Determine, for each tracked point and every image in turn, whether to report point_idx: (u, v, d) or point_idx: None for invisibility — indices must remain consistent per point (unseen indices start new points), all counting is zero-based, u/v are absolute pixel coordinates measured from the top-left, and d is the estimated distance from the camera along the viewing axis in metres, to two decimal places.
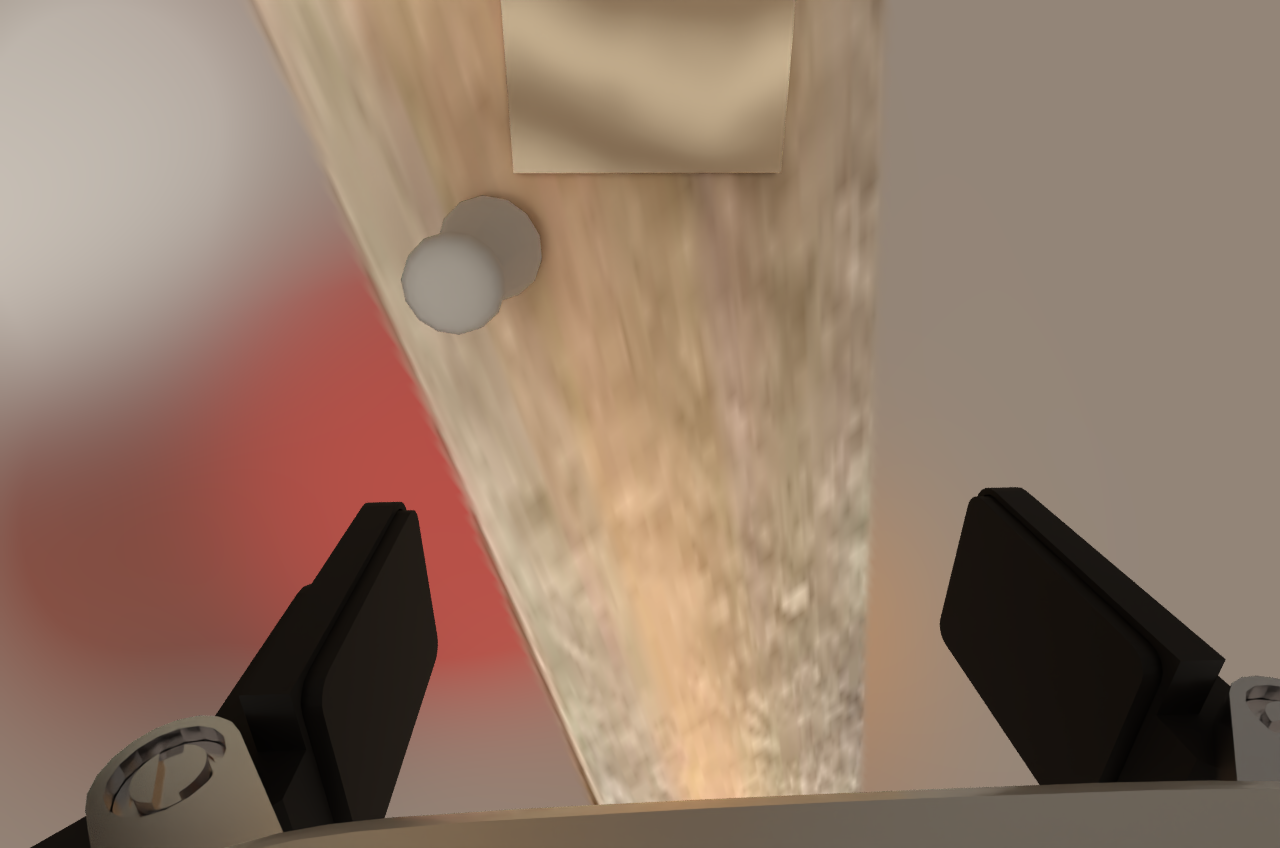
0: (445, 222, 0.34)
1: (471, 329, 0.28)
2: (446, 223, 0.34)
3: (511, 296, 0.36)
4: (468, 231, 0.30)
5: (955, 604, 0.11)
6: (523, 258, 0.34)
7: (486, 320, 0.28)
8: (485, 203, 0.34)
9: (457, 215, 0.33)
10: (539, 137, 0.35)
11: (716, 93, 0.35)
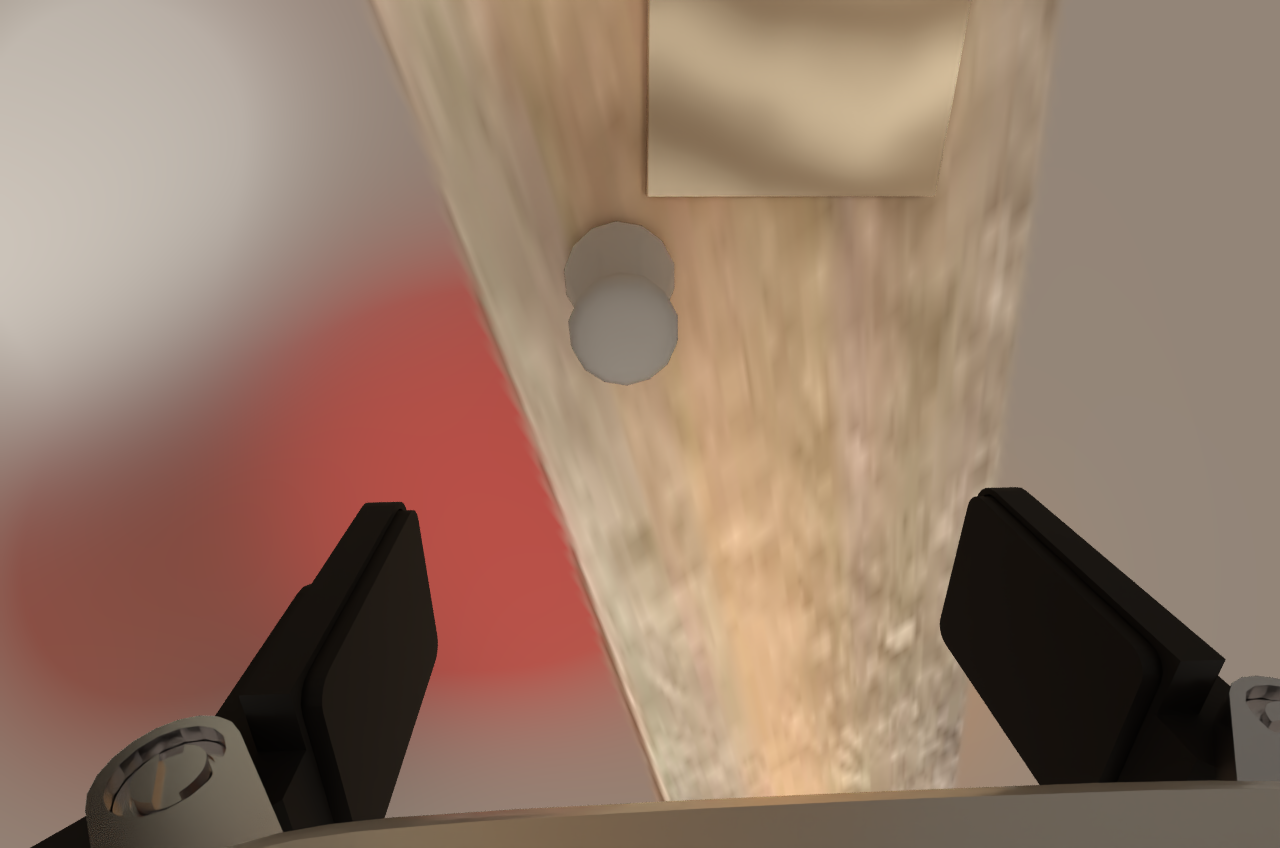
0: (581, 252, 0.31)
1: (641, 380, 0.25)
2: (584, 253, 0.31)
3: None
4: (624, 267, 0.28)
5: (955, 604, 0.11)
6: (667, 292, 0.31)
7: (658, 370, 0.25)
8: (624, 231, 0.31)
9: (599, 245, 0.30)
10: (679, 158, 0.32)
11: (873, 111, 0.32)
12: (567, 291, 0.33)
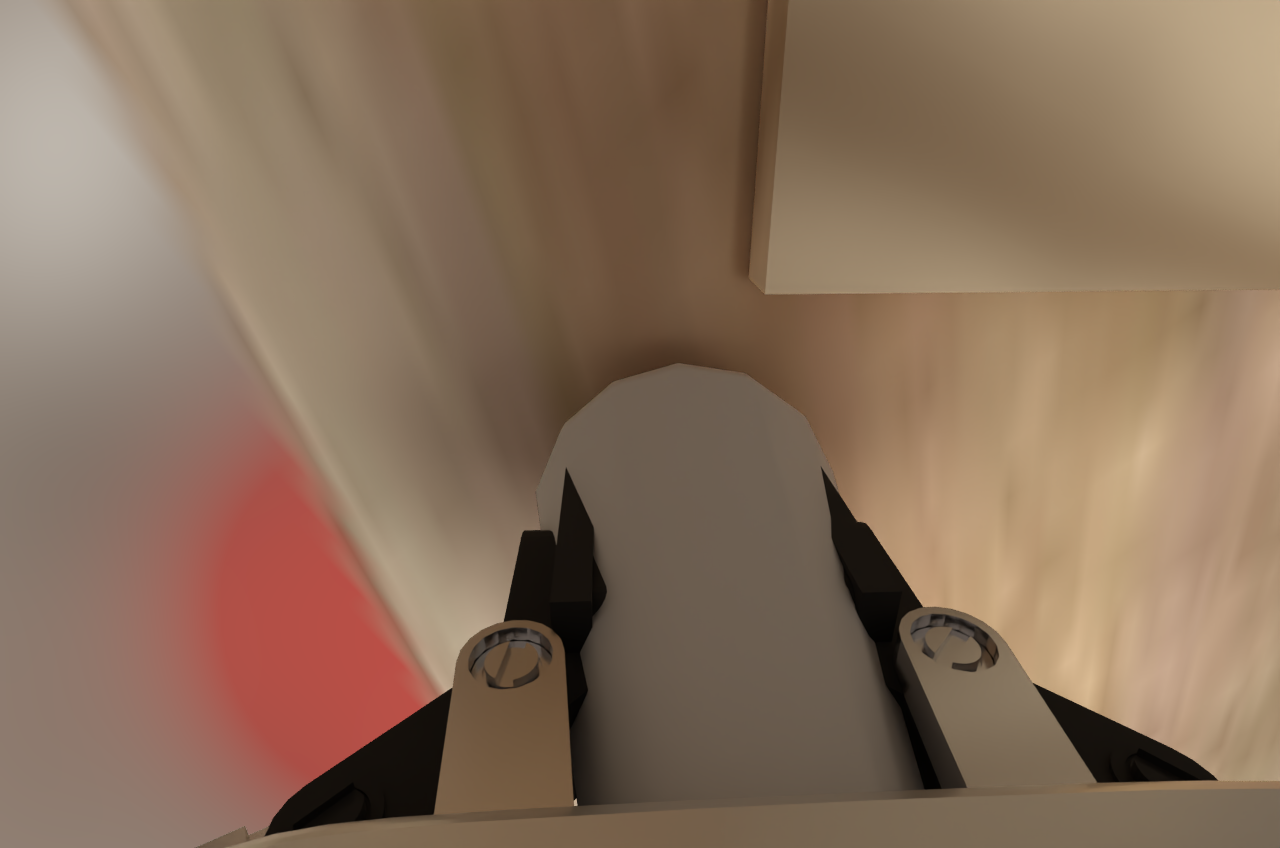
0: (582, 479, 0.10)
1: None
2: (593, 496, 0.10)
3: None
4: (766, 662, 0.07)
5: None
6: None
7: None
8: (712, 414, 0.10)
9: (641, 484, 0.09)
10: (861, 190, 0.11)
11: None
12: None
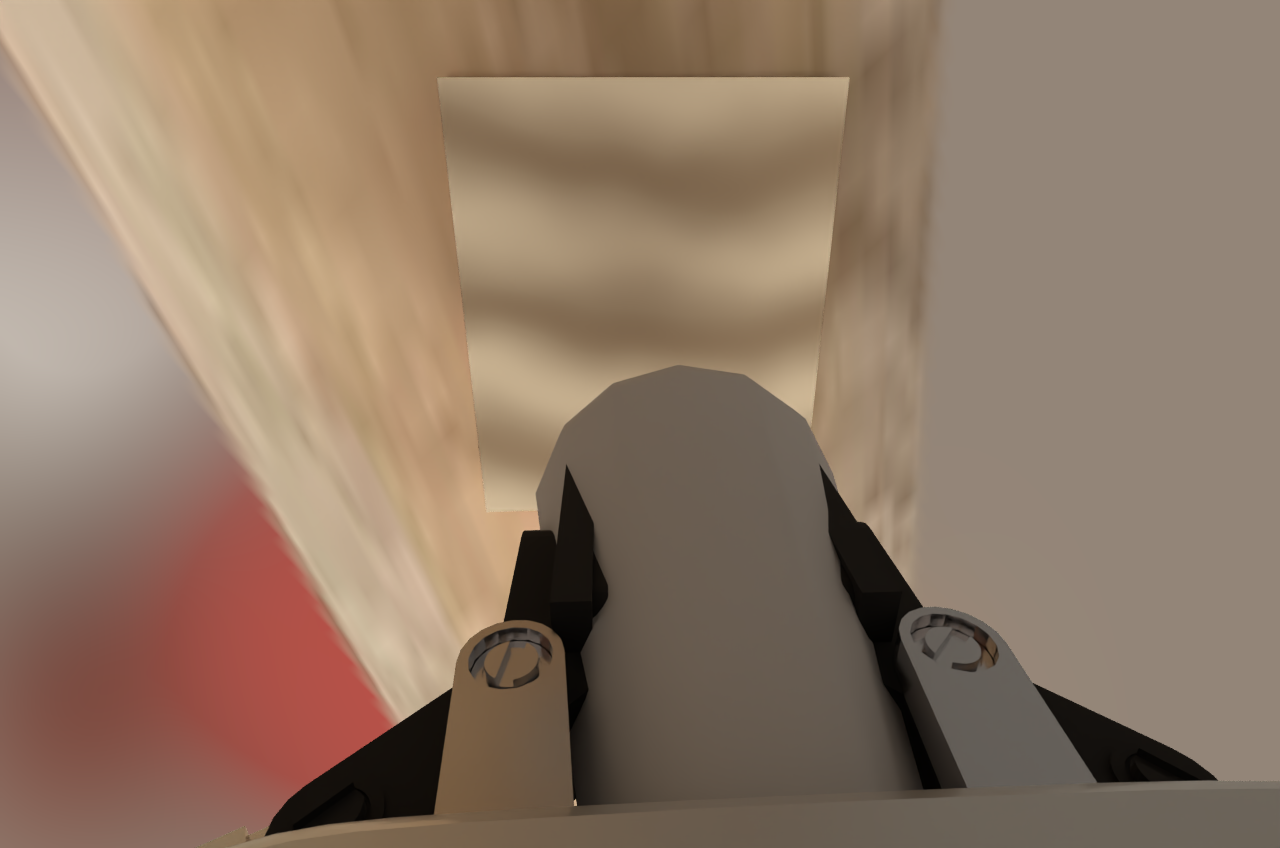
0: (582, 482, 0.10)
1: None
2: (593, 498, 0.10)
3: None
4: (765, 666, 0.07)
5: None
6: None
7: None
8: (712, 416, 0.10)
9: (641, 486, 0.09)
10: (516, 477, 0.30)
11: None
12: None
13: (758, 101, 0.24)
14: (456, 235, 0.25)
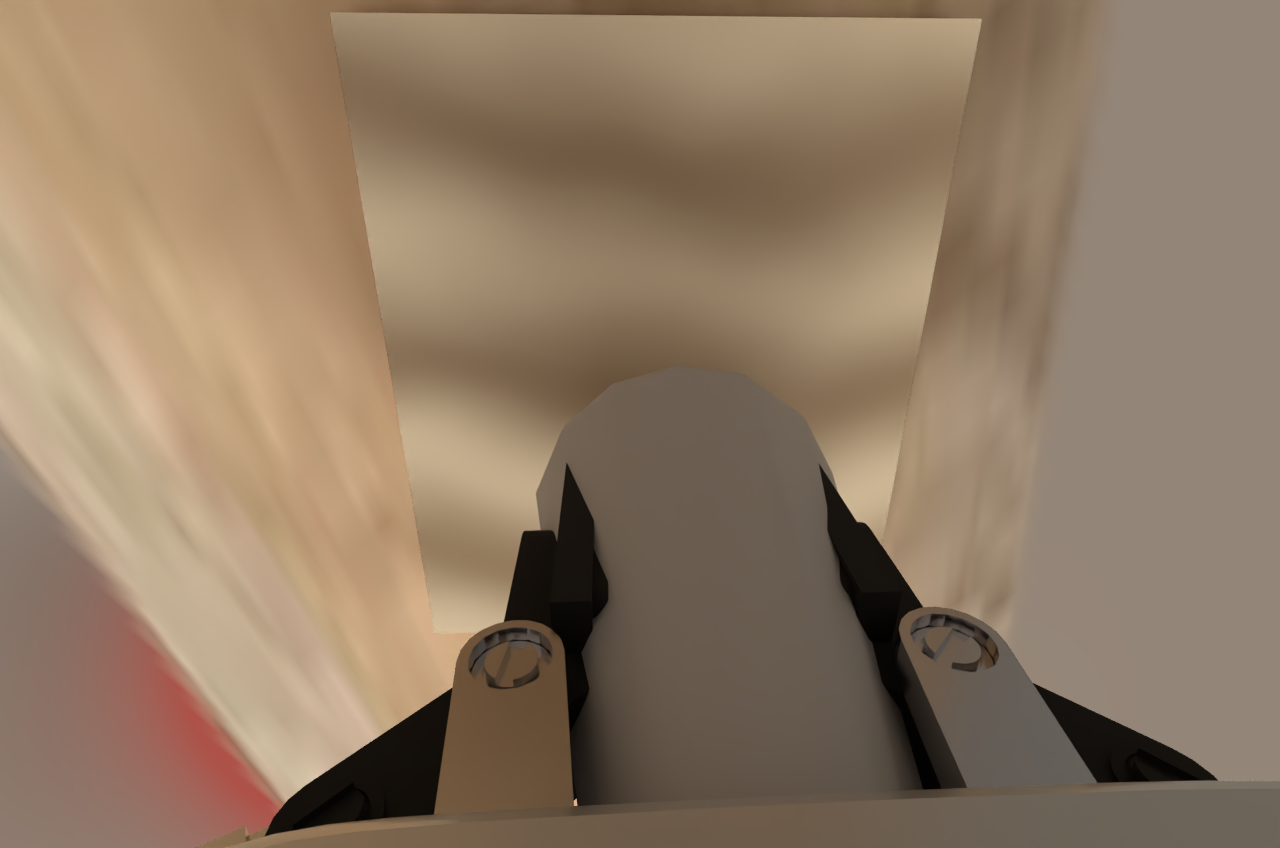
0: (582, 482, 0.10)
1: None
2: (593, 498, 0.10)
3: None
4: (766, 665, 0.07)
5: None
6: None
7: None
8: (712, 417, 0.10)
9: (641, 486, 0.09)
10: (475, 589, 0.21)
11: None
12: None
13: (837, 56, 0.15)
14: (373, 260, 0.17)
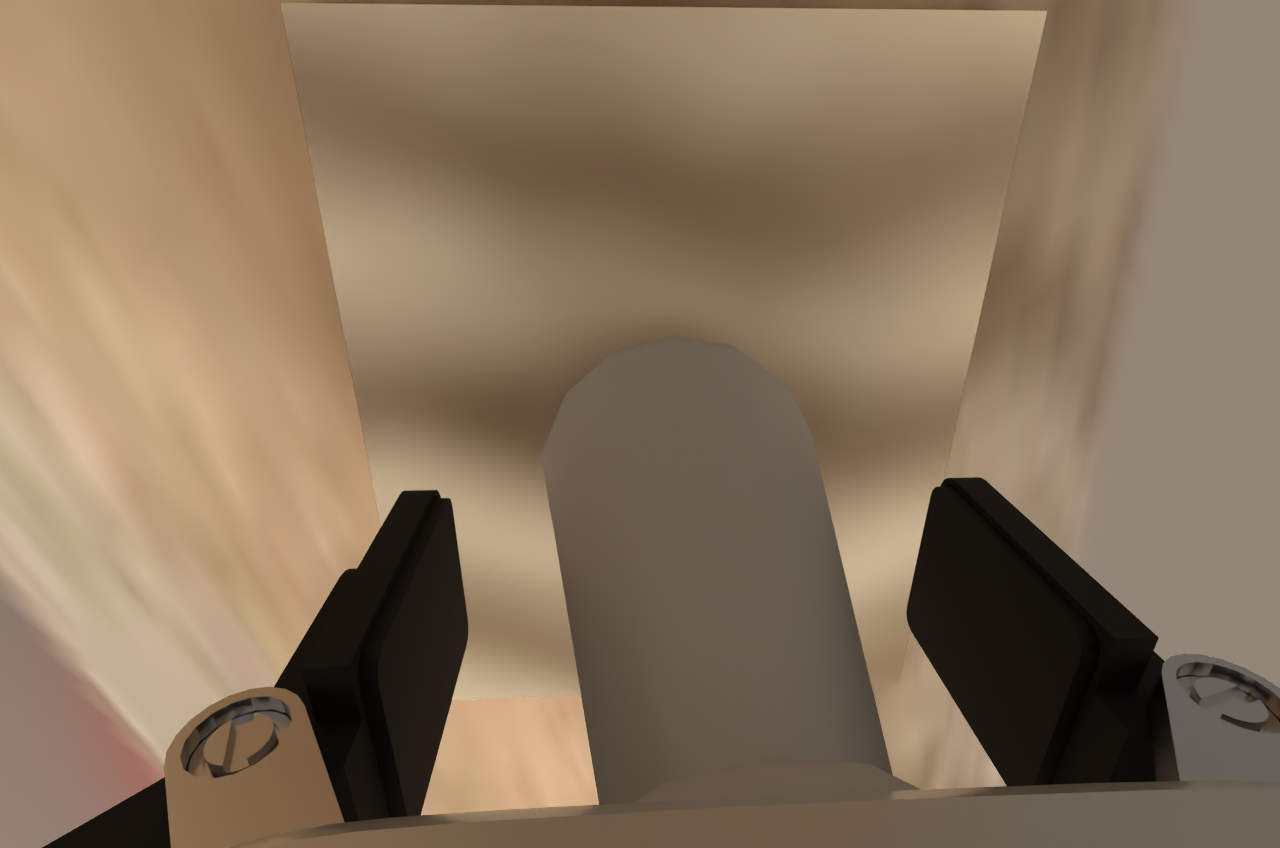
0: (584, 441, 0.11)
1: None
2: (593, 455, 0.11)
3: None
4: (740, 586, 0.08)
5: (920, 592, 0.11)
6: None
7: None
8: (700, 382, 0.12)
9: (636, 443, 0.10)
10: None
11: None
12: (550, 509, 0.13)
13: (878, 55, 0.13)
14: (338, 290, 0.14)
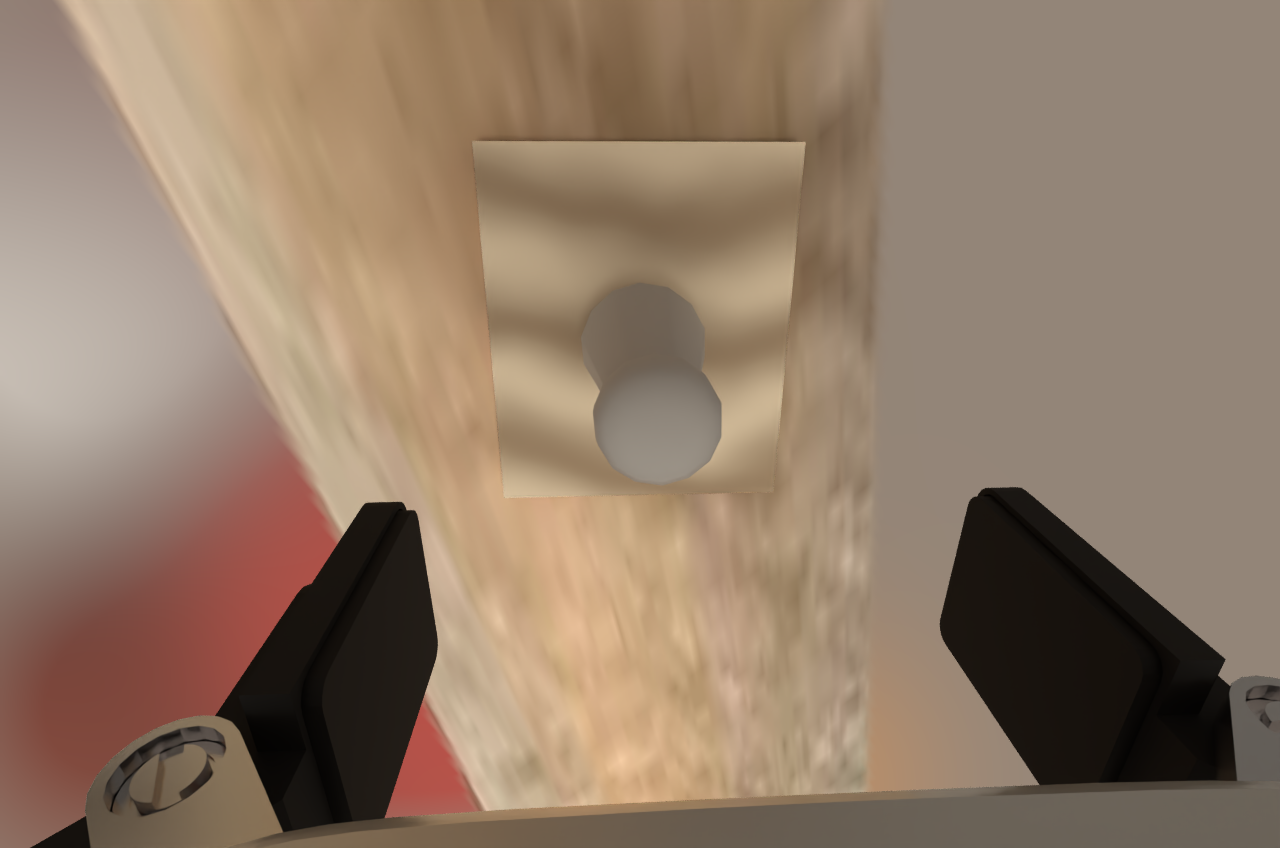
0: (601, 319, 0.28)
1: (679, 479, 0.21)
2: (605, 322, 0.27)
3: None
4: (654, 341, 0.24)
5: (955, 604, 0.11)
6: (701, 364, 0.27)
7: (699, 467, 0.21)
8: (649, 295, 0.28)
9: (622, 313, 0.27)
10: (530, 467, 0.35)
11: None
12: (585, 361, 0.30)
13: (732, 160, 0.29)
14: (484, 266, 0.31)
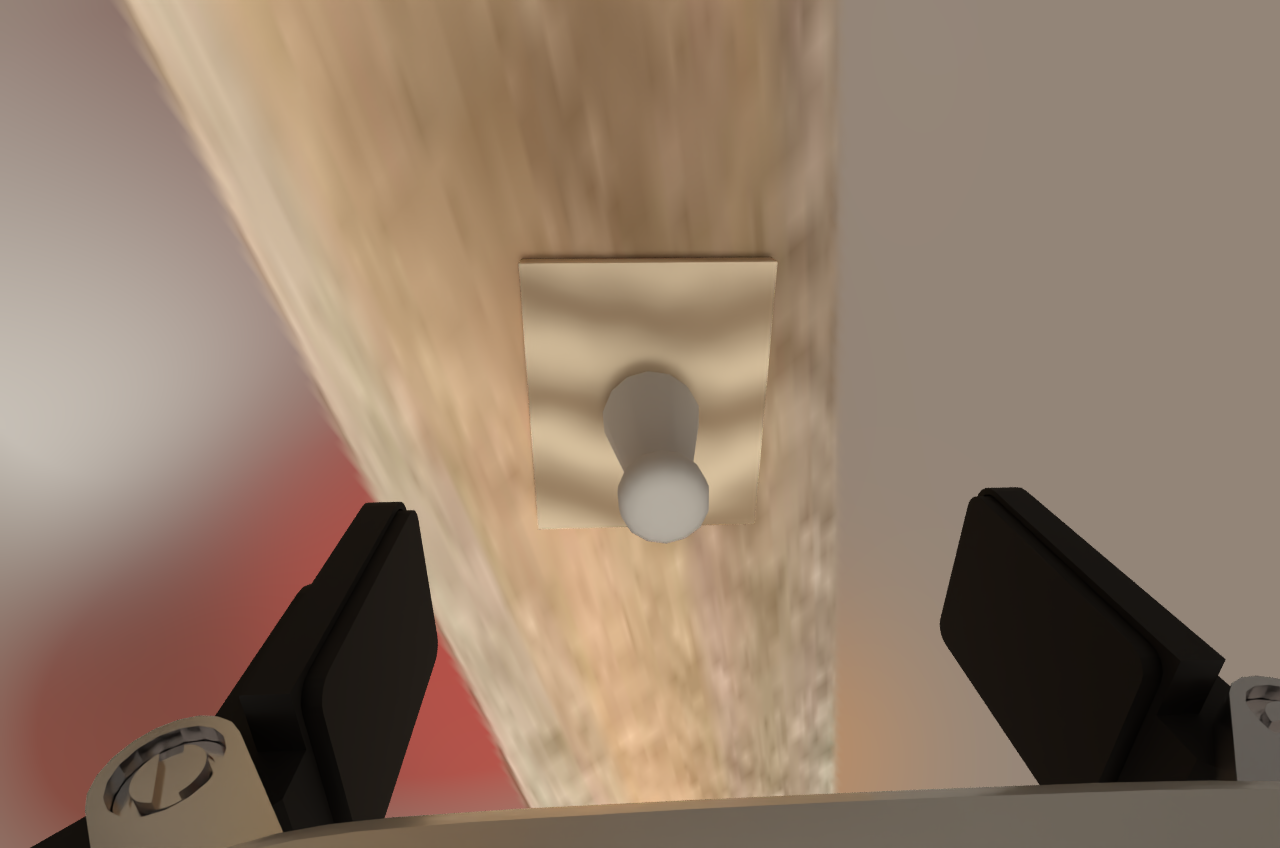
0: (619, 404, 0.36)
1: (679, 539, 0.30)
2: (623, 408, 0.36)
3: None
4: (660, 432, 0.33)
5: (956, 605, 0.11)
6: (695, 440, 0.36)
7: (693, 531, 0.30)
8: (656, 386, 0.36)
9: (636, 403, 0.35)
10: (559, 506, 0.44)
11: None
12: (605, 431, 0.38)
13: (720, 275, 0.38)
14: (526, 355, 0.39)
